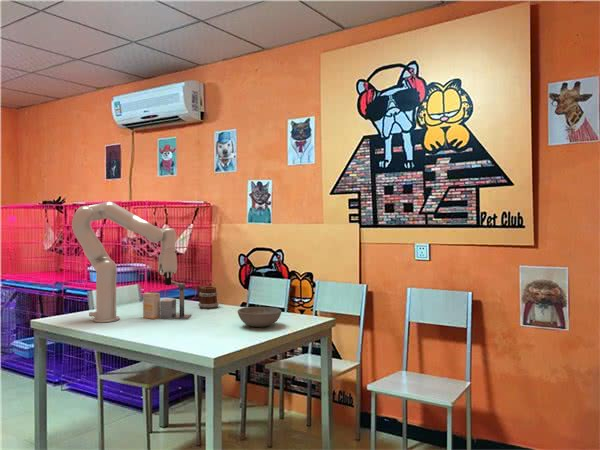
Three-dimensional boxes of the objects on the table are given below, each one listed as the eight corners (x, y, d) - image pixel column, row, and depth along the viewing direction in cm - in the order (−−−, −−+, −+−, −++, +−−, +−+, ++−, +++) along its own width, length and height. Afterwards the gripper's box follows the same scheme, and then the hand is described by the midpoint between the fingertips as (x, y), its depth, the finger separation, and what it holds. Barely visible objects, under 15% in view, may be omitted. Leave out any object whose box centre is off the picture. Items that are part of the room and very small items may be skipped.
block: (160, 318, 250) (160, 301, 250) (165, 315, 258) (164, 298, 258) (171, 318, 250) (171, 301, 250) (176, 315, 258) (176, 298, 258)
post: (172, 319, 249) (171, 289, 249) (176, 316, 257) (176, 287, 257) (187, 319, 249) (187, 289, 249) (191, 316, 257) (191, 287, 257)
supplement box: (160, 317, 253) (160, 292, 253) (153, 319, 249) (153, 294, 249) (150, 316, 258) (149, 291, 258) (142, 317, 254) (142, 292, 254)
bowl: (232, 323, 238) (232, 307, 238) (272, 320, 247) (272, 304, 247) (245, 332, 219) (245, 315, 219) (287, 328, 227) (287, 311, 227)
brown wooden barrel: (208, 309, 274) (205, 283, 276) (192, 311, 283) (189, 286, 284) (223, 306, 284) (220, 281, 285) (207, 308, 292) (204, 283, 293)
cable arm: (165, 283, 267) (165, 280, 267) (172, 283, 269) (171, 279, 269) (179, 288, 250) (179, 284, 250) (186, 287, 253) (186, 283, 253)
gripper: (173, 250, 270) (173, 283, 270) (152, 251, 257) (152, 285, 257) (183, 250, 266) (183, 284, 266) (162, 252, 253) (162, 287, 253)
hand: (168, 284), depth 262 cm, fingers closed
